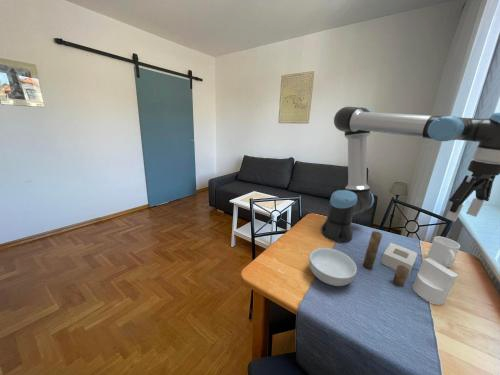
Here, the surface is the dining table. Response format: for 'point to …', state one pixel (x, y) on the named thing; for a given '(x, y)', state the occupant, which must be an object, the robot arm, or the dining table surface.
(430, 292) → the base with upright slab
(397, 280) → the short dowel
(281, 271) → the dining table surface
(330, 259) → the cereal bowl
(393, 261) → the hole block
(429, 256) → the mug
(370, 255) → the long dowel
